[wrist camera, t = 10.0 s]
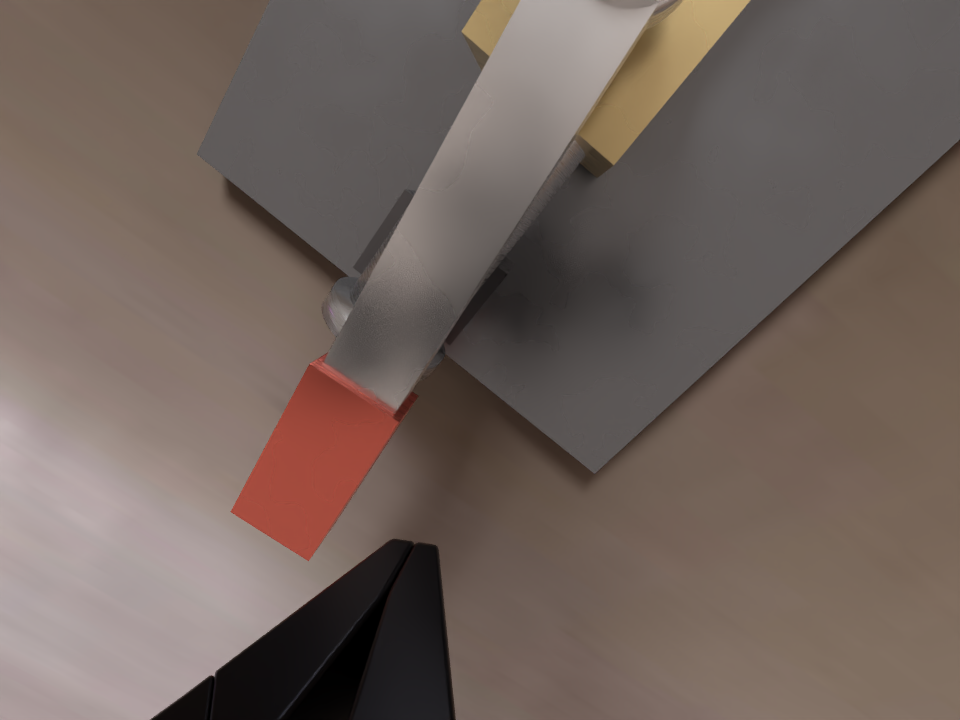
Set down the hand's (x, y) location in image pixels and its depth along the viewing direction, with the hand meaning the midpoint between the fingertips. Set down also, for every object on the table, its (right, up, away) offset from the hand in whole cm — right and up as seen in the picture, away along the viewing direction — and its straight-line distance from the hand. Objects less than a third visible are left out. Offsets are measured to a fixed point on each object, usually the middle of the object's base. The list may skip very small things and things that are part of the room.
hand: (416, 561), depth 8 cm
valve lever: (0, +6, +3) cm, 6 cm away
